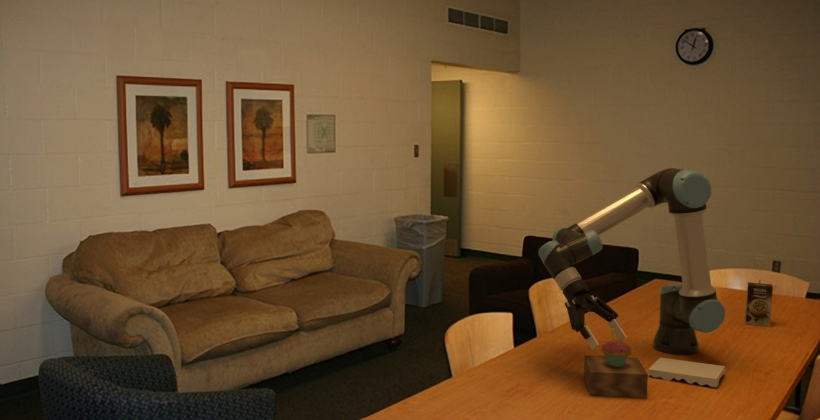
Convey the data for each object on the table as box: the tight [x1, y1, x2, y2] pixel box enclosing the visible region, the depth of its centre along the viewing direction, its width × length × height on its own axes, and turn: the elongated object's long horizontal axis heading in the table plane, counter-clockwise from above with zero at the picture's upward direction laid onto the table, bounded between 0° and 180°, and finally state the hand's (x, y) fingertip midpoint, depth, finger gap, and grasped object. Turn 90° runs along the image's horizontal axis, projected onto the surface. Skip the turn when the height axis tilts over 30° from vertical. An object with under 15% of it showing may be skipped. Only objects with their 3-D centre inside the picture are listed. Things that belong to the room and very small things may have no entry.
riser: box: [583, 355, 649, 399], centre depth 225 cm, size 16×16×7 cm
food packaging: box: [647, 357, 726, 388], centre depth 236 cm, size 15×3×20 cm
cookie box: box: [744, 282, 774, 328], centre depth 300 cm, size 9×6×16 cm
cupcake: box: [601, 328, 632, 367], centre depth 224 cm, size 9×8×12 cm
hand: (609, 343), depth 225 cm, fingers open, 13 cm apart
